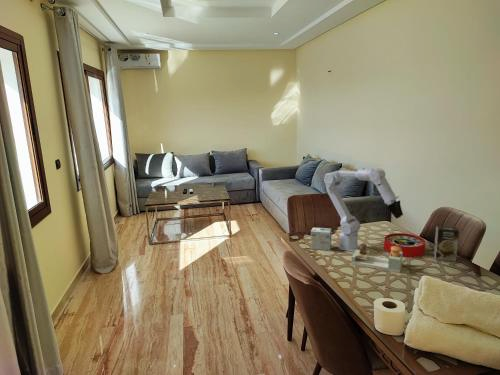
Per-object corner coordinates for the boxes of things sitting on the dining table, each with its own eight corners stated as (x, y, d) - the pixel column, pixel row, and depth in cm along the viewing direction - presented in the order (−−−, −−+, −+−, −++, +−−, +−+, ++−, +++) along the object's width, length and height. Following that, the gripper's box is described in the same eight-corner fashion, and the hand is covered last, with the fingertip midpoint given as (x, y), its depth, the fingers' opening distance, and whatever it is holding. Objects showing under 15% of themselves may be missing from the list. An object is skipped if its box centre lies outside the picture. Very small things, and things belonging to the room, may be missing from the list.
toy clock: (381, 232, 194) (419, 233, 190) (381, 242, 196) (418, 243, 192) (388, 246, 175) (430, 247, 171) (387, 256, 177) (429, 258, 173)
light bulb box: (331, 246, 193) (331, 228, 190) (330, 251, 186) (330, 232, 184) (312, 244, 196) (312, 226, 194) (310, 249, 190) (310, 230, 188)
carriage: (355, 260, 169) (356, 247, 168) (359, 254, 176) (359, 241, 174) (366, 262, 167) (366, 248, 165) (369, 256, 174) (369, 242, 172)
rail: (351, 264, 170) (351, 252, 168) (356, 256, 178) (356, 244, 177) (399, 272, 159) (400, 260, 158) (401, 264, 168) (402, 251, 166)
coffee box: (435, 259, 171) (438, 229, 167) (433, 254, 176) (435, 225, 173) (456, 261, 168) (459, 230, 164) (453, 256, 174) (456, 226, 170)
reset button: (389, 260, 163) (390, 249, 161) (390, 256, 167) (391, 245, 165) (400, 262, 160) (401, 250, 159) (401, 258, 164) (402, 247, 163)
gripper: (391, 188, 159) (405, 215, 156) (396, 187, 171) (409, 211, 168) (377, 195, 162) (391, 221, 159) (383, 193, 175) (396, 217, 172)
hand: (399, 216), depth 164 cm, fingers open, 7 cm apart
